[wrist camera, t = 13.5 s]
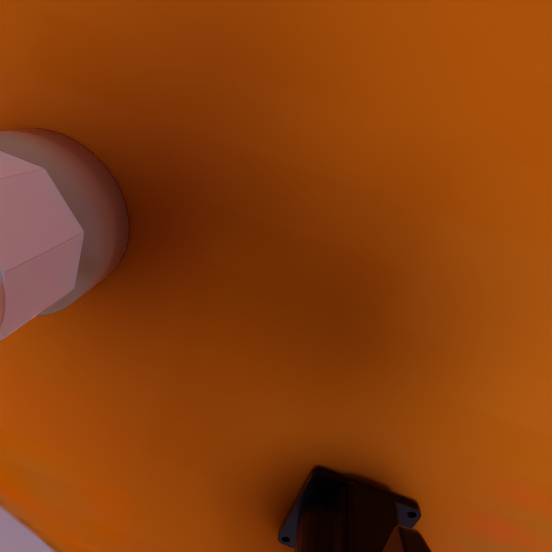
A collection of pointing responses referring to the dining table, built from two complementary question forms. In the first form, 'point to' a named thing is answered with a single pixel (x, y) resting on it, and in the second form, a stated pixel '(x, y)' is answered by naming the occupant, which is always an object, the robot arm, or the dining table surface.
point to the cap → (33, 243)
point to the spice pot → (78, 201)
